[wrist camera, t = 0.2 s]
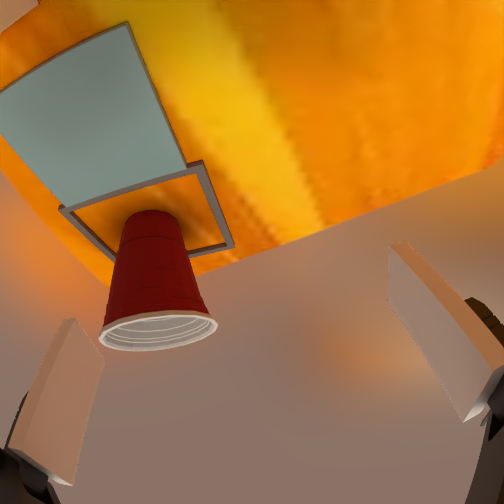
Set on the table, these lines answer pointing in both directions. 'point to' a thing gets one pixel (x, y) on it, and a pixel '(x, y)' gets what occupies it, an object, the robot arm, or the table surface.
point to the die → (14, 11)
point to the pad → (90, 120)
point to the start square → (191, 169)
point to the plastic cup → (153, 289)
